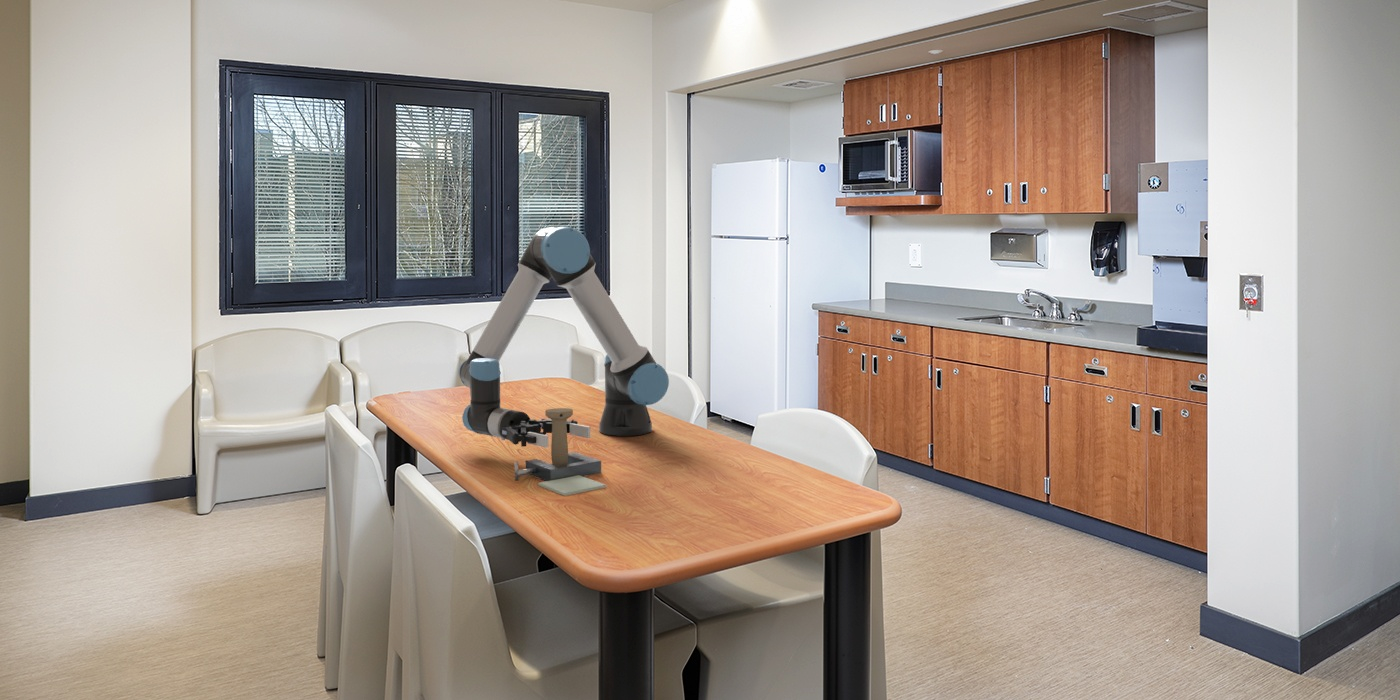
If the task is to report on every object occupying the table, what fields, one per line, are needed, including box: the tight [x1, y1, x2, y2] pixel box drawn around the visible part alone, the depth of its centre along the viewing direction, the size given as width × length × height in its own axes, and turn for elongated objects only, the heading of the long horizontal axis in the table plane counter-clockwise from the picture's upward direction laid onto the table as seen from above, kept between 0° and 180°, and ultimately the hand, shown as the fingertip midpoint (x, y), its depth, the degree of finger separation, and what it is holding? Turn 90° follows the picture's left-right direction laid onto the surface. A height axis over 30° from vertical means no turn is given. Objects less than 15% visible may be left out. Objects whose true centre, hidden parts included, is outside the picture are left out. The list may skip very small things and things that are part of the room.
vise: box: [514, 452, 602, 482], centre depth 228 cm, size 19×11×4 cm, turn 130°
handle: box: [544, 407, 574, 466], centre depth 230 cm, size 5×6×15 cm
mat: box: [537, 475, 607, 497], centre depth 218 cm, size 11×11×1 cm
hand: (568, 436), depth 228 cm, fingers open, 13 cm apart
